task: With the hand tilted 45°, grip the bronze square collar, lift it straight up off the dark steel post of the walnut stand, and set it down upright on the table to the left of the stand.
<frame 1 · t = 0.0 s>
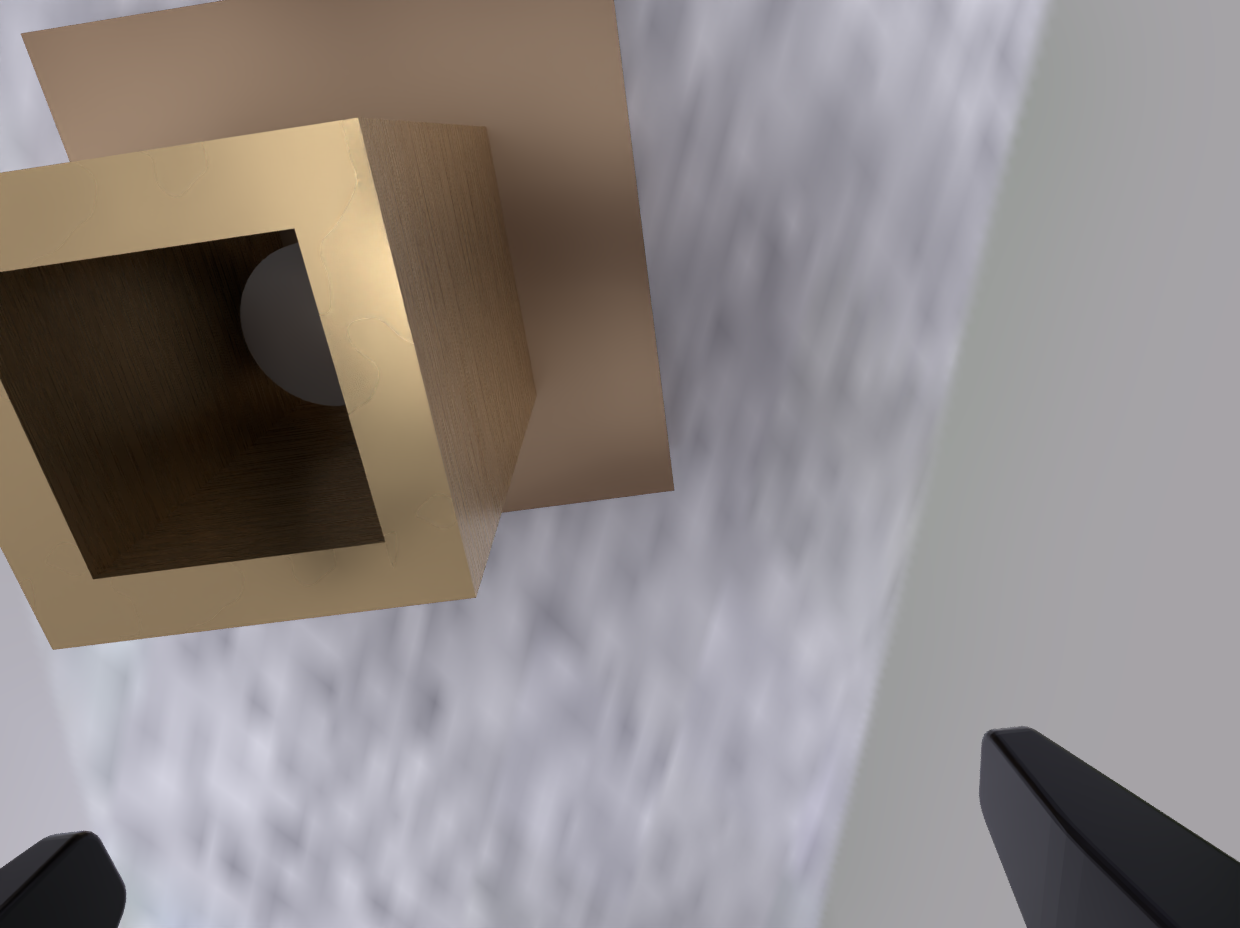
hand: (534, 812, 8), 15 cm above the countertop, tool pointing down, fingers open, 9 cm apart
post stand: (410, 270, 20), on the countertop
collar: (384, 287, 18), point 2 cm above the countertop, touching post stand
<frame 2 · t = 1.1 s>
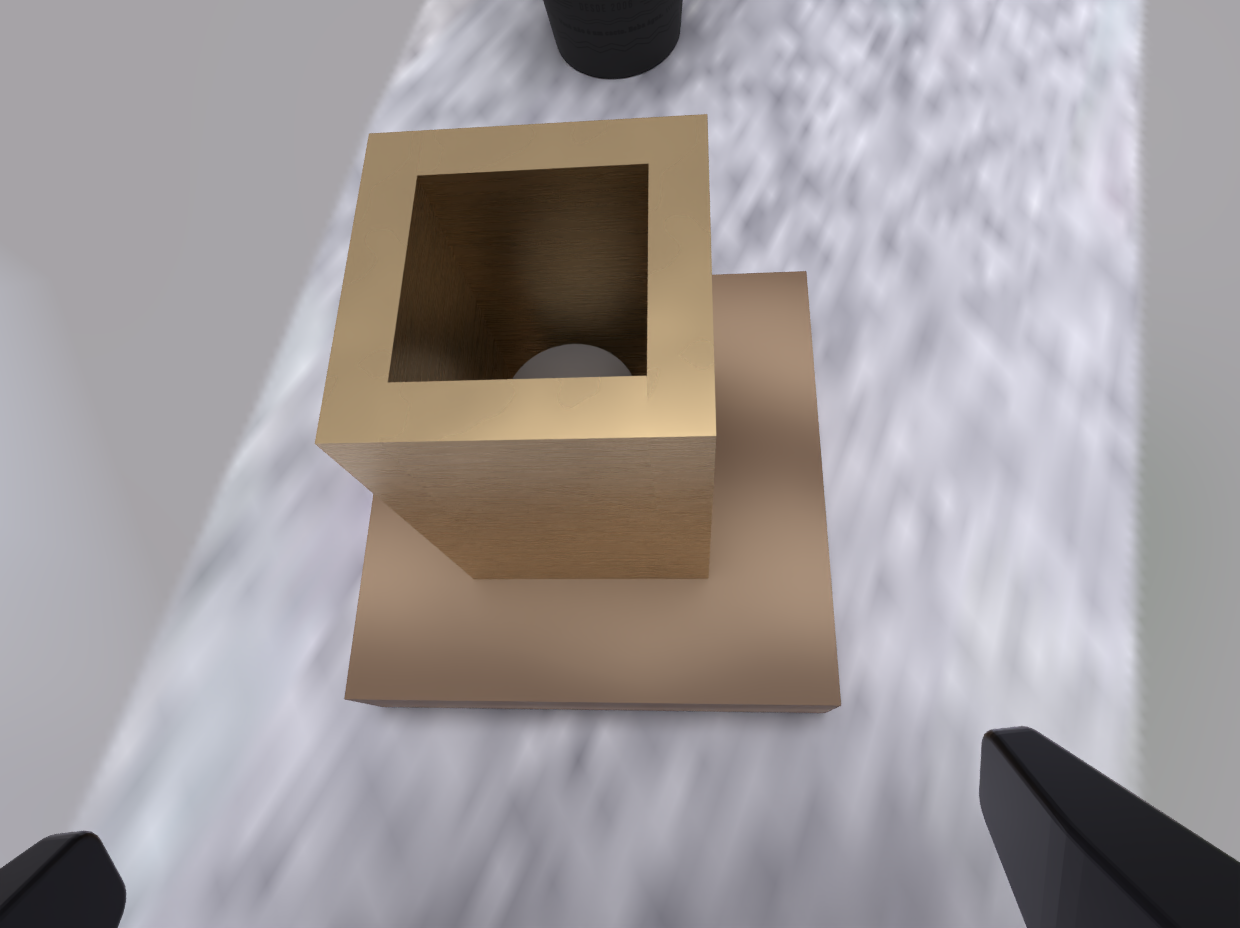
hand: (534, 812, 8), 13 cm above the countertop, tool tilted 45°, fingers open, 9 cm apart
post stand: (603, 498, 23), on the countertop
collar: (593, 468, 21), point 2 cm above the countertop, touching post stand
drinking cup: (617, 36, 30), on the countertop
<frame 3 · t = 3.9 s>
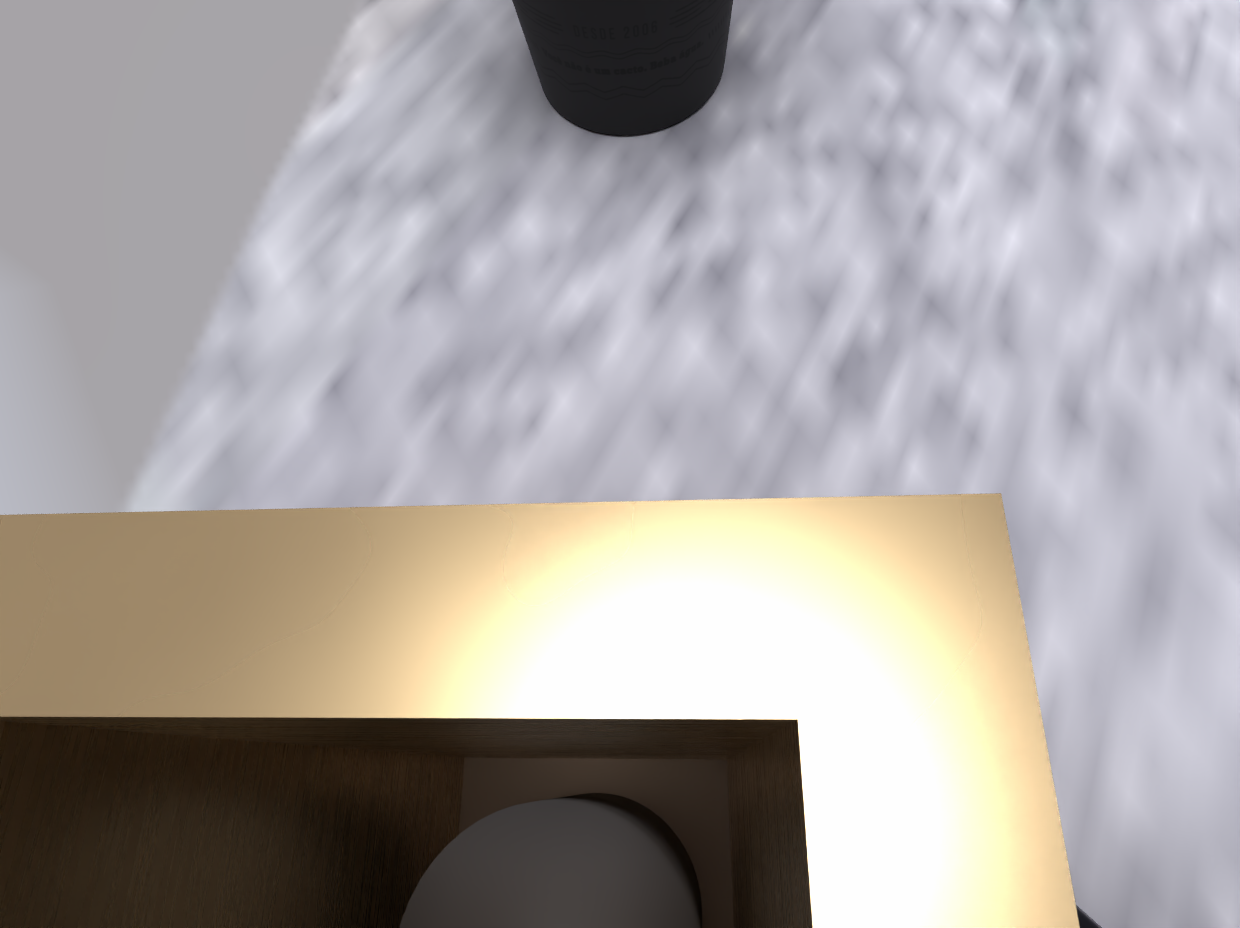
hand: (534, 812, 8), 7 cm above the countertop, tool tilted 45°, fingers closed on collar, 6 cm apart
post stand: (613, 884, 13), on the countertop
collar: (590, 909, 11), point 3 cm above the countertop, touching gripper, post stand
drinking cup: (630, 71, 21), on the countertop
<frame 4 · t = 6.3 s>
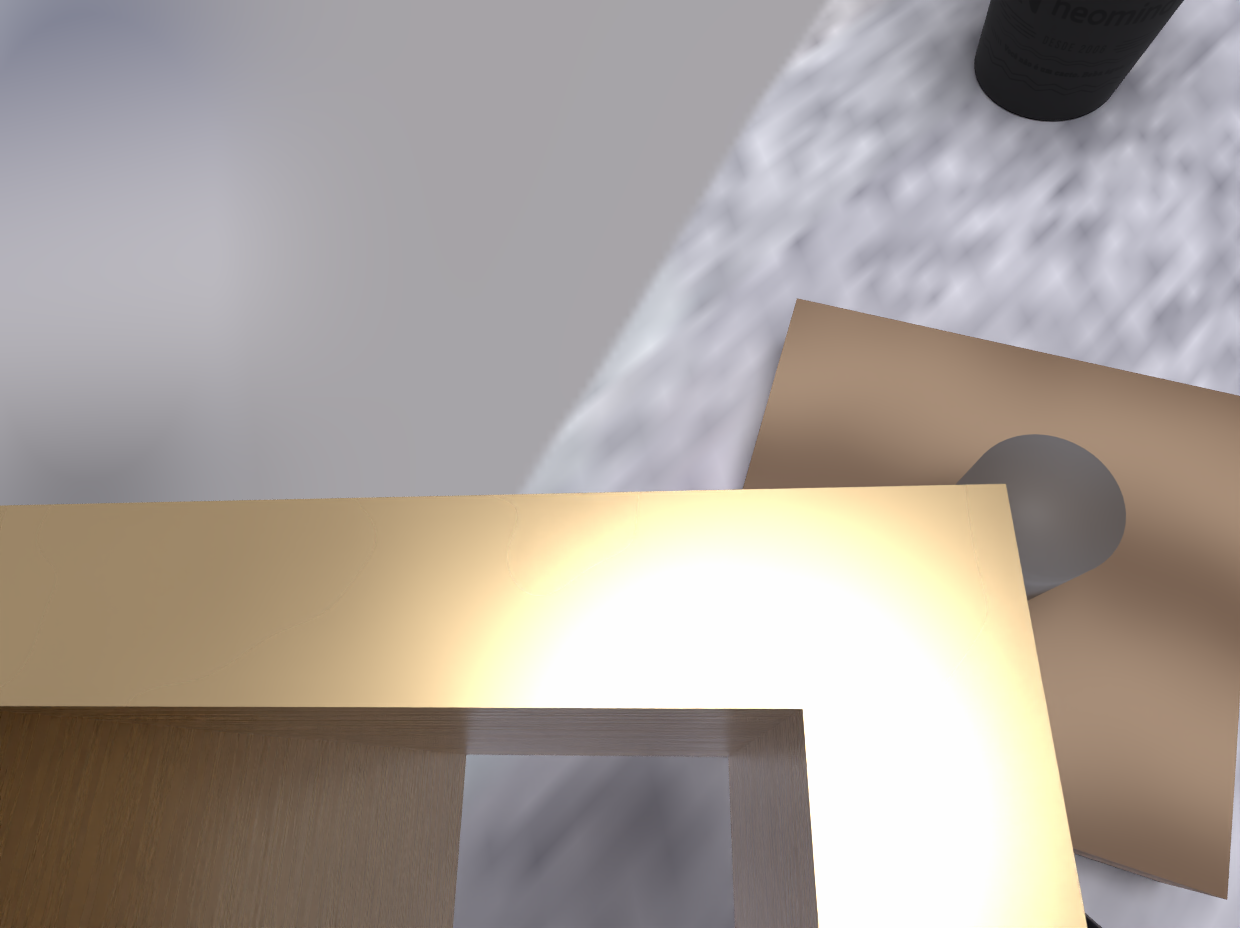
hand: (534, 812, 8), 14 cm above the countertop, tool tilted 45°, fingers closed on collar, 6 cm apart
post stand: (948, 574, 22), on the countertop
collar: (592, 905, 11), point 10 cm above the countertop, touching gripper
drinking cup: (1041, 72, 28), on the countertop
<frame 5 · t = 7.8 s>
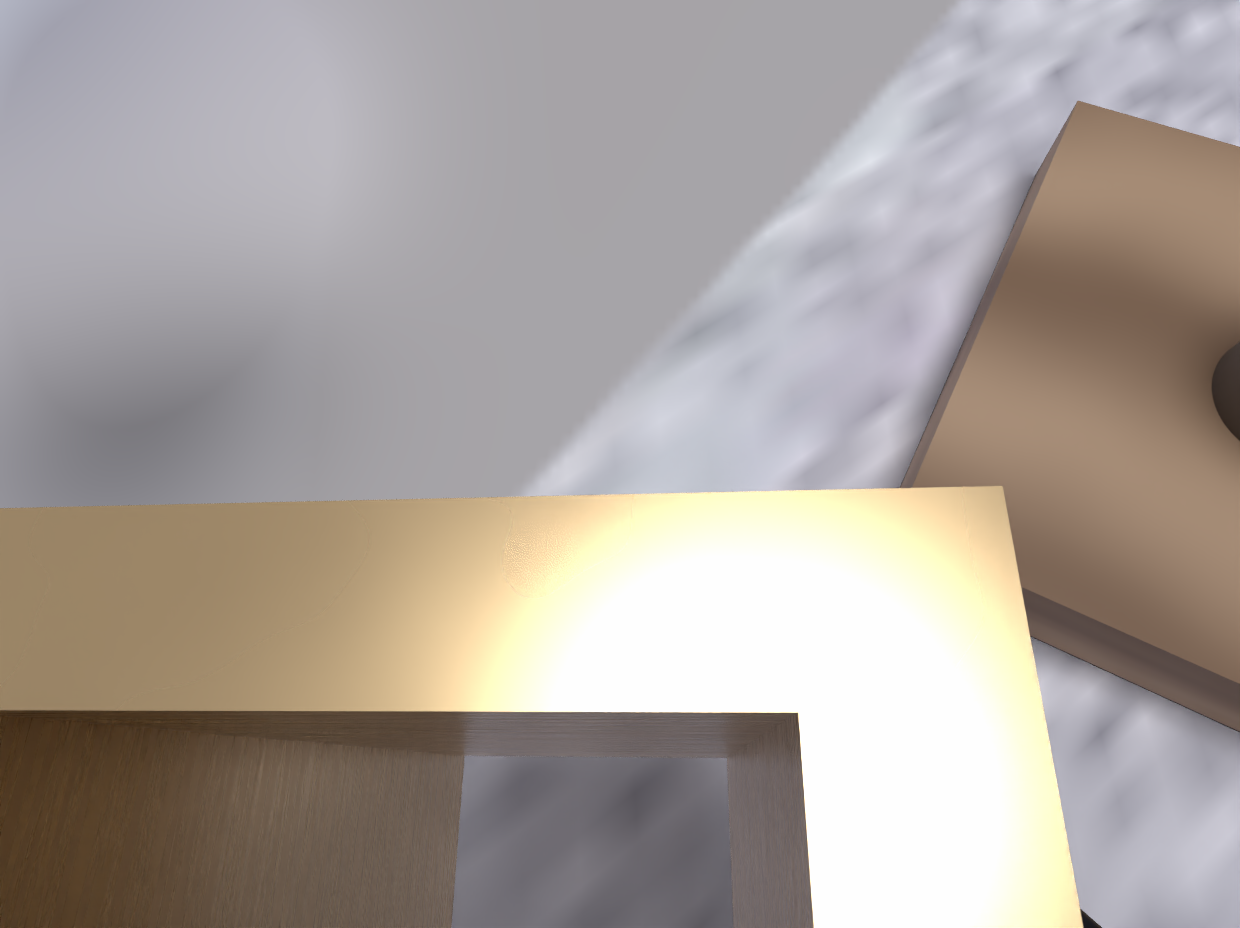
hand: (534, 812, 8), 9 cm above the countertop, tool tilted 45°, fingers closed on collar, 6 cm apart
post stand: (1216, 448, 18), on the countertop
collar: (590, 907, 11), point 5 cm above the countertop, touching gripper
when the fingers open (6 cm above the countertop, at t = 9.0 s): collar drops 2 cm, on the countertop.
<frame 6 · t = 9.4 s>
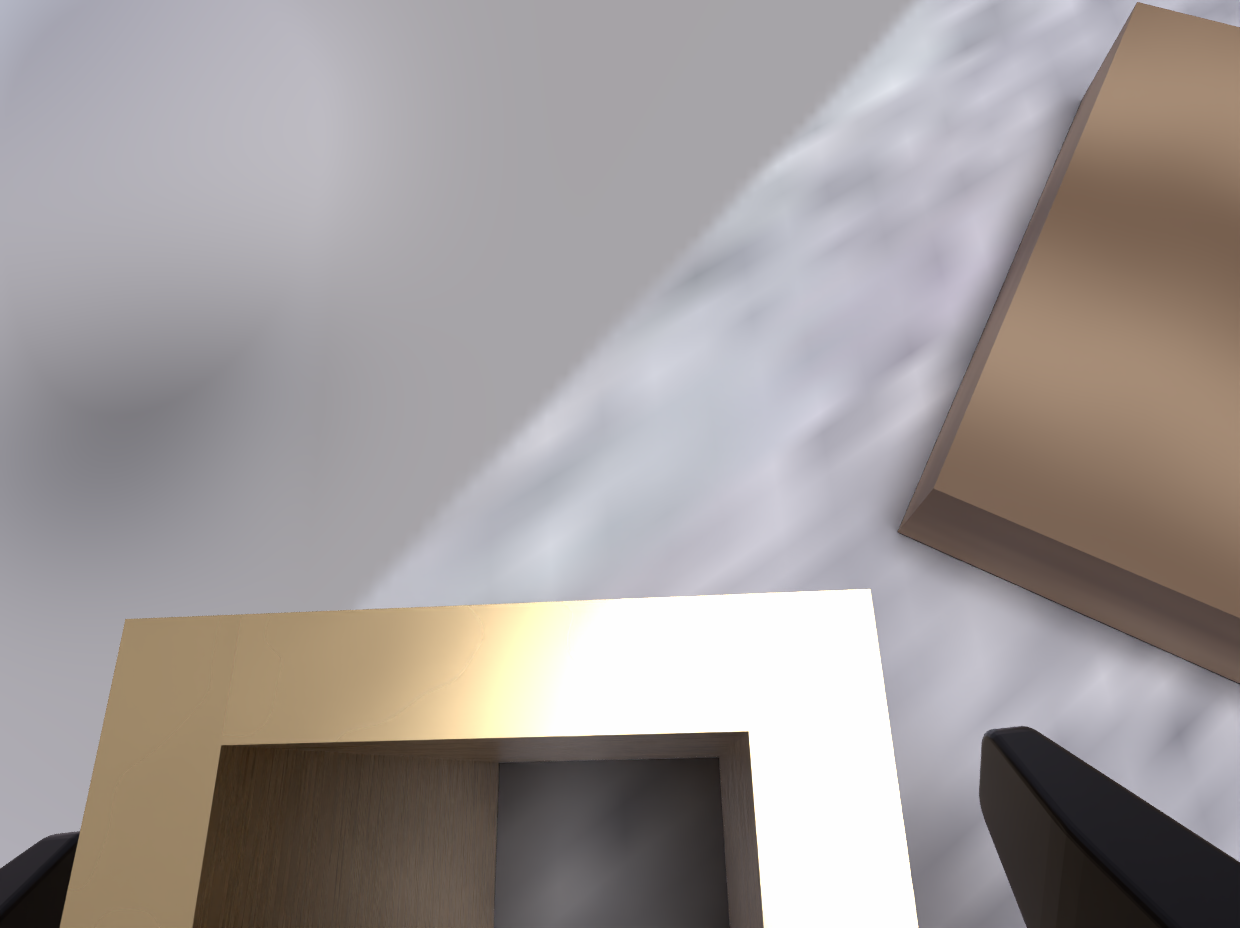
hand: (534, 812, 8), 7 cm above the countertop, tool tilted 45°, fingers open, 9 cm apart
collar: (609, 884, 13), on the countertop
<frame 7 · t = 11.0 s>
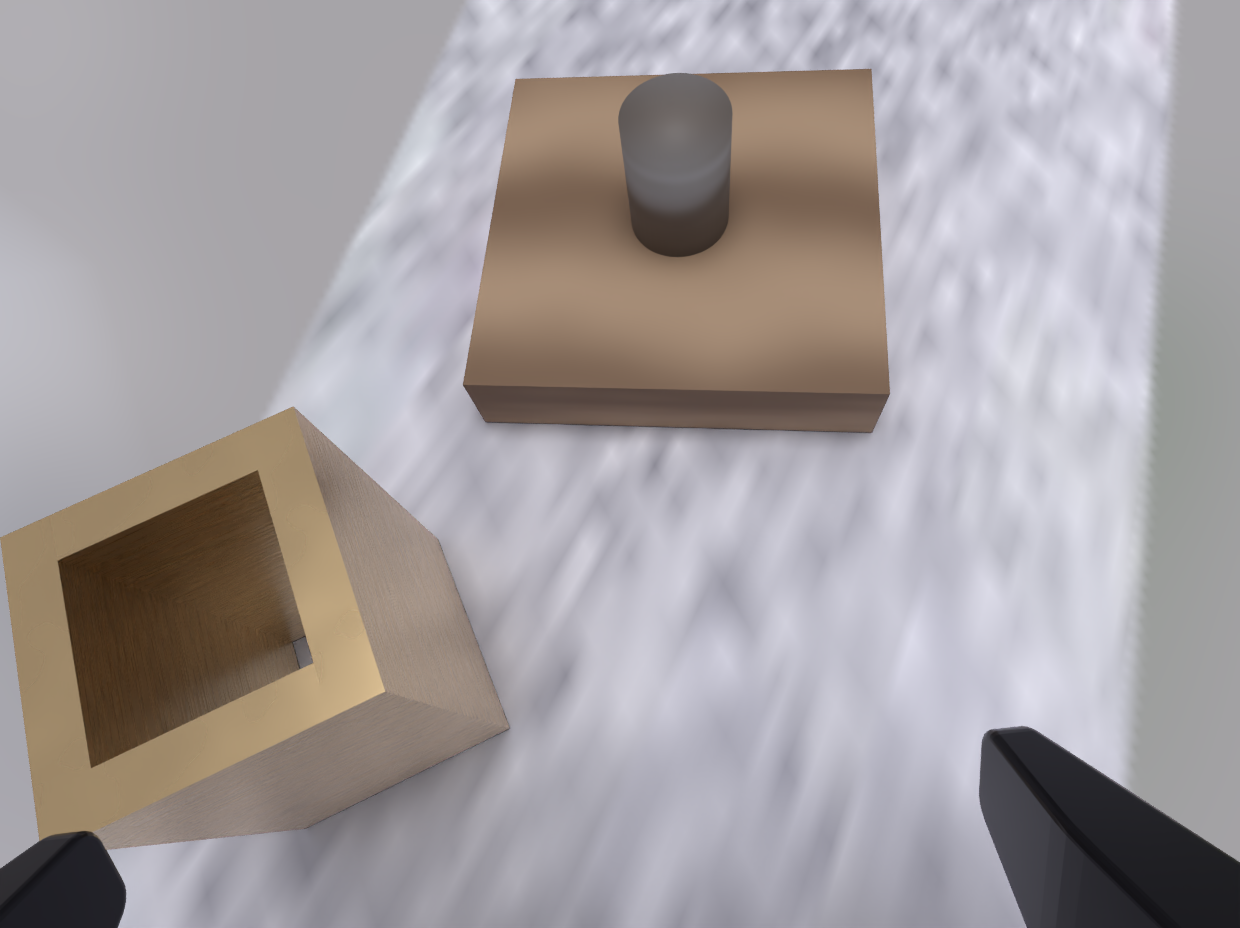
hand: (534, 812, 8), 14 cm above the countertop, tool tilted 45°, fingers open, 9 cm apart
post stand: (682, 266, 27), on the countertop
collar: (375, 675, 22), on the countertop
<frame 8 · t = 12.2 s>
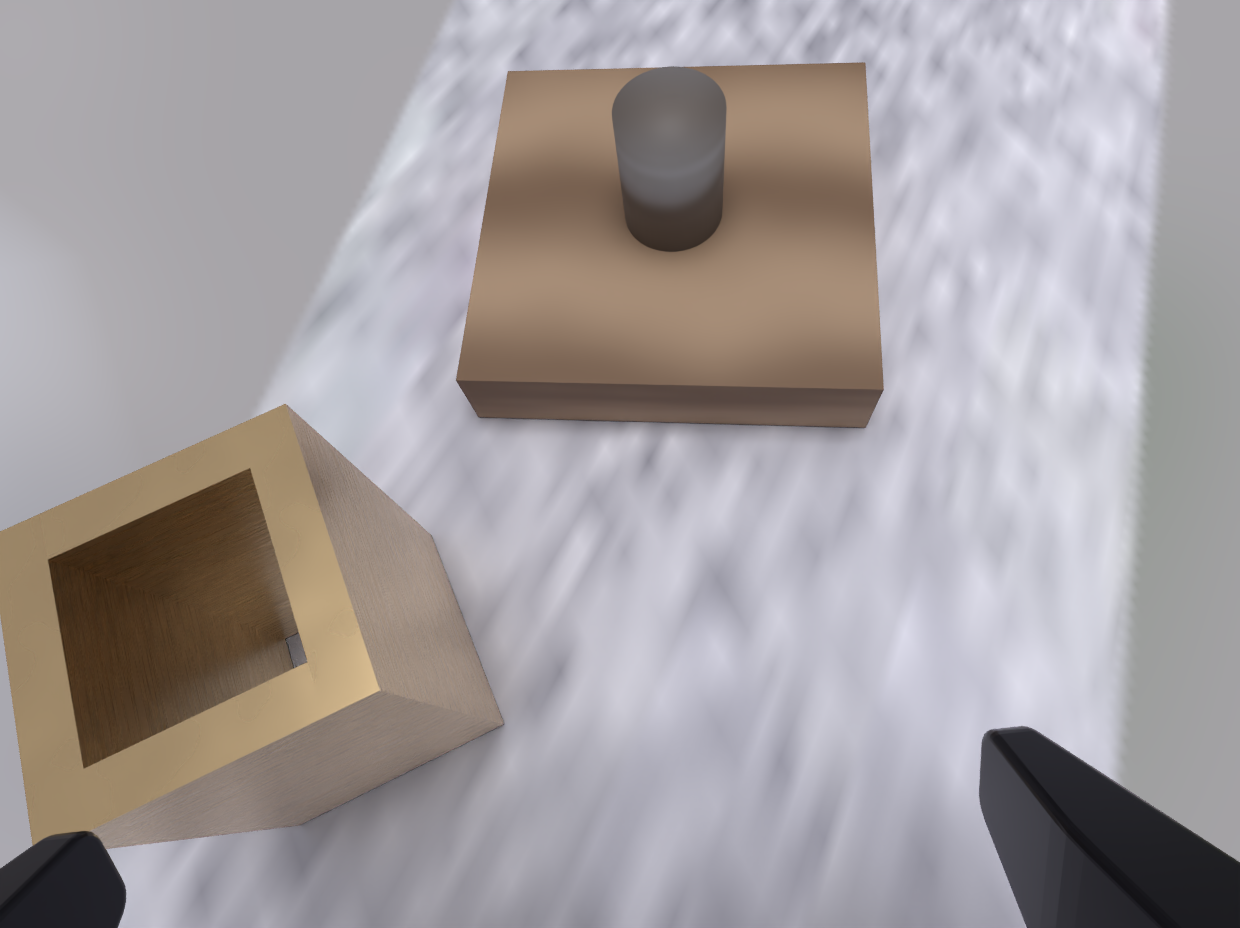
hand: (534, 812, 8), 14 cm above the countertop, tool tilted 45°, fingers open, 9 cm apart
post stand: (675, 260, 26), on the countertop
collar: (369, 671, 22), on the countertop
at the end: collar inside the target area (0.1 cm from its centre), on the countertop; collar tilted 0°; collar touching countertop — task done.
